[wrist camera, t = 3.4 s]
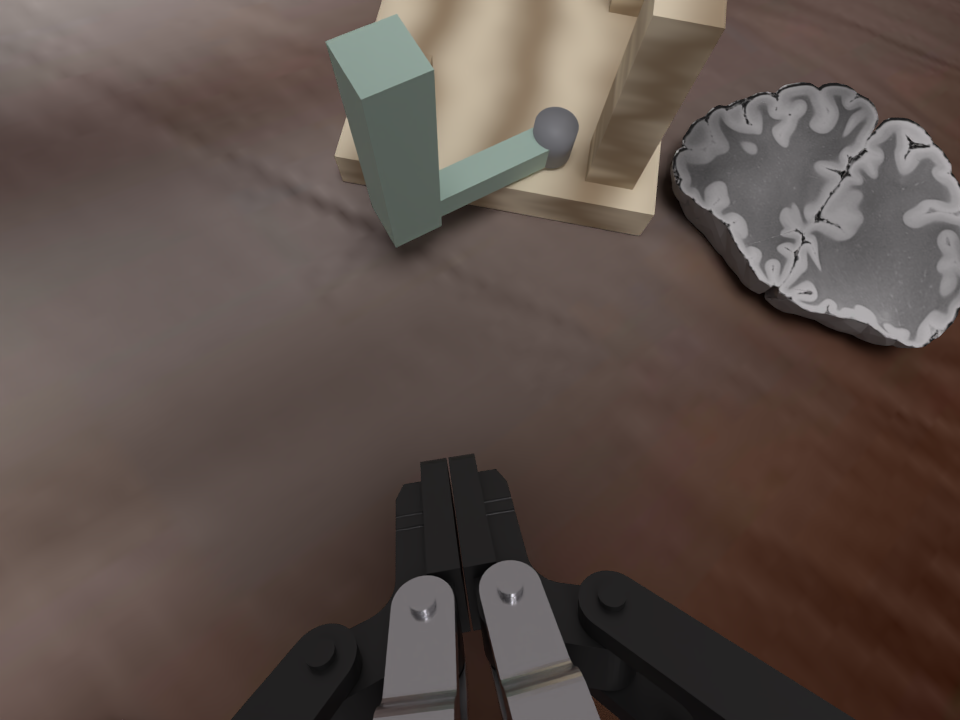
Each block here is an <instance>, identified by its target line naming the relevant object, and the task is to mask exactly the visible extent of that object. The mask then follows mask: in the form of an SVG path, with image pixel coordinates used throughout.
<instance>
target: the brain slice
mask: <svg viewBox="0 0 960 720" xmlns="http://www.w3.org/2000/svg"><path fill="white" fill-rule="evenodd" d="M877 123H878V114H877V110H876V108H875V106H874V104H873V103H872V102H871V101H870V100H869V99H868V98H866V97H864V96H862V95H860V94H858V93H857V92H856V91H855V90H854V89H852V88H851V87H849V86H847V85H844V84H839V83H828V84H824V85H822V86H821V87H819V88H818V87H816V86H814V85H813V84H811V83H805V82H800V83H793V84H788V85H784V86H783V87H781V88H780V89H779V90H778V91H777V92H776V93H770V92H761V93H756V94H754V95H752V96H750V97H748V98H745V99H742V100H737V101H735V102H733V103H731V104H730V105H728V106H721V105H718V106H716V107H714V108H713V109H711V110H710V111H709V112H708V113H707V114H706V116H705V117H702V118H700V119H698V120H696V121H695V122H693V123H692V124H691V126H690V128H689V130H688V131H687V133H686V134H685V136H684V137H683V142H682V148H680V149H679V150H677V151H676V153H675V155H674V157H673V161H672V165H671V169H670V174H671V180H672V190H673V193H674V195H675V196H676V198H677V199H678V200H679V202H680V206H681V208H682V210H683V212H684V214H685V216H686V218H687V219H688V220H689V221H690V222H692V224H693V225H694V226H695V227H696V228H697V229H698V230H699V231H701V232H702V233H703V234H704V235H705V237H706V238H707V239H708V241H709V242H710V243H711V245H712V246H713V247H714V249H715V250H716V251H717V252H718V253H719V254H720V255H721V256H722V257H723V258H724V260H725V262H726V263H727V265H728V266H729V267H730V268H731V269H732V270H733V271H734V273H735V274H736V275H737V276H738V277H739V279H740V281H741V282H742V283H743V284H744V285H745V286H746V287H747V288H749V289H750V290H752V291H754V292H756V293H758V294H761V293H764V292H765V296H764V297H765V299H766V301H768V302H769V303H770V304H771V305H772V306H773V307H775V308H777V309H779V310H781V311H783V312H785V313H791V314H796V315H799V316H802V317H806V318H809V319H814V320H816V321H817V322H819V323H821V324H823V325H825V326H827V327H828V328H831V329H834V330H836V331H839V332H844V333H848V334H852V335H854V336H855V337H857V338H859V339H861V340H864V341H866V342H869V343H872V344H877V345H883V346H890V345H893V346H895V347H899V348H918V347H923V346H926V345H927V344H929V343H930V342H931V341H932V340H934V339H936V338H938V337H939V336H940V335H941V334H942V333H943V332H944V331H945V330H946V329H947V328H948V327H949V326H950V325H951V324H952V323H953V322H954V320H955V318H956V317H957V315H958V311H959V309H960V185H959V183H958V181H957V180H956V178H955V177H954V175H953V174H952V172H951V163H950V161H949V160H948V158H947V157H946V155H945V154H944V152H943V151H942V150H941V149H940V148H939V147H938V146H937V145H936V144H934V143H933V141H932V139H931V137H930V135H929V134H928V133H927V132H926V130H924V129H923V128H922V127H921V126H920V125H919V124H917V123H916V122H914V121H912V120H910V119H906V118H889V119H887V120H884V121H883V122H882V123H881V124H880V125H879V126H878V127H877V128H876V130H875V131H874V132H873V133H871V132H872V131H873V129H874V128H875V126H876V125H877Z"/></svg>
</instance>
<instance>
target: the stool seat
mask: <svg viewBox="0 0 960 720" xmlns="http://www.w3.org/2000/svg"><path fill="white" fill-rule="evenodd" d="M726 3H727V0H382V3H381V6H380V9H379V13H378V16H377V19H376V22H377V21H380V20H382V19H385V18H387V17H390V16H393V15H395V14H397V15H398V16H399V18H400V19H401V21H402V22H403V24H404V25H405V27H406V28H407V30H408V31H409V33H410V34H411V36H412V37H413V39H414V40H415V42H416V43H417V45H418V46H419V48H420V49H421V51H422V52H423V54H424V55H425V57H426V58H427V60H428V61H429V63H430V64H431V66H432V67H433V69H434V77H435V98H436V118H437V139H438V159H439V170H441V169H443V168H445V167H448V166H450V165H452V164H454V163H456V162H459V161H461V160H463V159H465V158H467V157H470V156H472V155H474V154H476V153H478V152H480V151H483V150H485V149H487V148H489V147H491V146H494V145H496V144H498V143H500V142H502V141H505V140H507V139H509V138H511V137H513V136H516V135H518V134H520V133H522V132H524V131H527V130H529V129H531V128H533V127H534V123H535V119H536V116H537V115H538V114H539V113H540V112H541V111H542V110H544V109H546V108H549V107H561V108H564V109H567V110H568V111H570V112H571V113H572V114H574V116H575V117H576V118H577V121H578V124H579V130H578V133H577V136H576V139H575V142H574V145H573V148H572V151H571V154H570V157H569V159H568V161H567V162H566V163H565V164H564V165H563V166H561V167H558V168H552V169H550V168H543V169H541V170H539V171H537V172H534V173H532V174H530V175H528V176H526V177H524V178H522V179H520V180H518V181H516V182H513V183H511V184H509V185H507V186H505V187H503V188H501V189H499V190H497V191H494V192H492V193H490V194H488V195H486V196H484V197H482V198H480V199H478V200H475V201H473V202H471V203H469V205H475V206H480V207H486V208H491V209H496V210H502V211H507V212H513V213H518V214H523V215H529V216H534V217H540V218H545V219H551V220H556V221H561V222H567V223H572V224H578V225H583V226H588V227H594V228H599V229H605V230H610V231H616V232H621V233H626V234H632V235H637V236H640V235H641V233H642V232H643V231H644V229H645V228H646V226H647V225H648V223H649V222H650V221H651V219H652V218H653V216H654V213H655V202H656V191H657V180H658V169H659V158H660V147H661V139H662V138H663V136H664V134H665V132H666V131H667V129H668V127H669V125H670V124H671V122H672V120H673V119H674V117H675V115H676V113H677V112H678V110H679V108H680V106H681V105H682V103H683V101H684V99H685V98H686V96H687V94H688V92H689V91H690V89H691V87H692V85H693V84H694V82H695V80H696V78H697V77H698V75H699V73H700V71H701V70H702V68H703V66H704V65H705V63H706V61H707V59H708V58H709V56H710V54H711V52H712V51H713V49H714V47H715V45H716V44H717V42H718V40H719V38H720V37H721V35H722V33H723V31H724V30H725V22H726ZM334 157H335V159H336V162H337V165H338V168H339V171H340V174H341V176H342V179H343V181H345V182H350V183H356V184H361V185H366V183H365V179H364V176H363V172H362V169H361V165H360V162H359V158H358V155H357V151H356V147H355V144H354V140H353V137H352V133H351V130H350V126H349V123H348V119H347V117H346V120H345V123H344V126H343V130H342V133H341V136H340V139H339V143H338V146H337V149H336V152H335V156H334Z"/></svg>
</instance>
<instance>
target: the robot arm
mask: <svg viewBox="0 0 960 720" xmlns="http://www.w3.org/2000/svg"><path fill="white" fill-rule="evenodd" d="M449 466H450V473H451V480H452V488H453V495H454V503H455V510H456V517H455V510H454V503H453V497H452V490H451V484H450V478H449V472H448V466H447V460H446V458H443V459H437V460H430V461H424V462H420V467H421V482H415V483H409V484H404V485H403V487H402V489H401V491H400V493H399V495H398V497H397V499H396V582H395V589H394V592H393V594H392V597H391V598H390V600H389V602H388V603H387V604H386V606H385V607H384V608H383V609H382V610H381V611H380V612H379V613H377V614H376V615H375V616H373V617H372V618H370V619H368V620H366V621H364V622H362V623H360V624H358V625H357V626H355V627H353V628H351V629H348V628H347V627H345V626H343V625H340V624H325V625H322V626H319V627H316V628H314V629H312V630H311V631H309V632H308V633H307V634H305V635H304V636H303V637H302V638H301V639H300V640H299V641H298V642H297V643H296V645H295V646H294V647H293V648H292V649H291V650H290V652H289V653H288V654H287V655H286V656H285V657H284V659H283V660H282V661H281V662H280V663H279V664H278V666H277V667H276V668H275V669H274V670H273V671H272V673H271V674H270V675H269V676H268V677H267V678H266V680H265V681H264V682H263V683H262V684H261V685H260V687H259V688H258V689H257V690H256V691H255V692H254V694H253V695H252V696H251V697H250V698H249V699H248V701H247V702H246V703H245V704H244V705H243V706H242V708H241V709H240V710H239V711H238V712H237V713H236V715H235V716H234V717H233V718H232V719H231V720H469V701H468V678H467V665H466V659H465V654H464V645H463V637H462V633H464V632H469V631H471V630H470V623H469V615H468V608H467V600H466V593H465V585H464V577H463V570H462V562H463V569H464V575H465V582H466V588H467V594H468V600H469V607H470V613H471V619H472V625H473V631H475V630H480V629H481V630H482V637H483V643H484V650H485V654H486V657H487V659H488V661H489V664H490V669H491V673H492V677H493V681H494V686H495V690H496V694H497V699H498V703H499V707H500V712H501V716H502V720H600V718H599V715H598V712H597V710H596V707H595V705H594V702H593V699H592V697H591V695H592V696H593V697H594V698H595V699H596V700H598V701H599V702H600V703H601V704H602V705H604V706H605V707H606V708H607V709H608V710H610V711H611V712H612V713H613V714H614V715H616V716H617V717H618V718H619V719H620V720H855V719H854V718H852V717H850V716H849V715H847V714H846V713H844V712H842V711H841V710H839V709H838V708H836V707H834V706H833V705H831V704H830V703H828V702H826V701H825V700H823V699H822V698H820V697H818V696H817V695H815V694H814V693H812V692H811V691H809V690H807V689H806V688H804V687H803V686H801V685H799V684H798V683H796V682H795V681H793V680H791V679H790V678H788V677H787V676H785V675H783V674H782V673H780V672H779V671H777V670H775V669H774V668H772V667H771V666H769V665H767V664H766V663H764V662H763V661H761V660H759V659H758V658H756V657H755V656H753V655H752V654H750V653H748V652H747V651H745V650H744V649H742V648H740V647H739V646H737V645H736V644H734V643H732V642H731V641H729V640H728V639H726V638H724V637H723V636H721V635H720V634H718V633H716V632H715V631H713V630H712V629H710V628H708V627H707V626H705V625H704V624H702V623H700V622H699V621H697V620H696V619H694V618H693V617H691V616H689V615H688V614H686V613H685V612H683V611H681V610H680V609H678V608H677V607H675V606H673V605H672V604H670V603H669V602H667V601H665V600H664V599H662V598H661V597H659V596H657V595H656V594H654V593H653V592H651V591H649V590H648V589H646V588H645V587H643V586H641V585H640V584H638V583H637V582H635V581H634V580H632V579H630V578H629V577H627V576H625V575H623V574H621V573H618V572H614V571H600V572H596V573H593V574H591V575H590V576H588V577H587V578H586V579H585V580H584V581H583V582H582V584H581V586H580V585H573V584H565V583H558V582H554V581H551V580H548V579H546V578H544V577H543V576H541V575H540V574H539V573H538V572H536V571H535V570H534V568H533V567H532V566H531V564H530V562H529V560H528V557H527V554H526V550H525V546H524V543H523V539H522V535H521V532H520V528H519V524H518V521H517V517H516V513H515V510H514V506H513V502H512V499H511V495H510V491H509V487H508V484H507V481H506V480H505V479H504V478H503V476H502V475H501V474H500V473H499V472H498V471H497V470H496V469H493V470H487V471H481V472H478V470H477V465H476V460H475V456H474V454H468V455H462V456H455V457H449ZM456 518H457V524H456ZM457 525H458V532H459V540H460V547H461V555H462V562H461V555H460V547H459V540H458V532H457Z"/></svg>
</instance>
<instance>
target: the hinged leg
mask: <svg viewBox="0 0 960 720" xmlns="http://www.w3.org/2000/svg"><path fill="white" fill-rule="evenodd" d="M325 42H326V45H327V49H328V52H329V56H330V59H331V63H332V66H333V70H334V73H335V77H336V80H337V84H338V88H339V91H340V95H341V98H342V102H343V105H344V109H345V112H346V116H347V119H348V123H349V126H350V130H351V133H352V137H353V140H354V144H355V147H356V151H357V155H358V158H359V162H360V165H361V169H362V172H363V176H364V179H365V183H366V186H367V190H368V193H369V197H370V200H371V204H372V207H373V209H374V211H375V213H376V214H377V216H378V218H379V219H380V221H381V223H382V225H383V226H384V228H385V230H386V231H387V233H388V235H389V237H390V238H391V240H392V242H393V243H394V245H395V247H396V248H397V247H399V246H401V245H403V244H405V243H407V242H409V241H411V240H413V239H415V238H417V237H420V236H422V235H424V234H426V233H428V232H430V231H432V230H434V229H436V228H438V227H440V226H442V220H441V217H442V216H444V215H446V214H448V213H450V212H452V211H454V210H457V209H459V208H461V207H463V206H465V205H467V204H469V203H471V202H473V201H475V200H478V199H480V198H482V197H484V196H486V195H488V194H490V193H492V192H494V191H497V190H499V189H501V188H503V187H505V186H507V185H509V184H511V183H513V182H516V181H518V180H520V179H522V178H524V177H526V176H528V175H530V174H532V173H534V172H537V171H539V170H541V169H543V168H550V169H552V168H558V167H561V166H563V165H564V164H565V163H566V162H567V161H568V159H569V157H570V154H571V151H572V148H573V145H574V142H575V139H576V136H577V133H578V130H579V124H578V121H577V118H576V117H575V116H574V114H572V113H571V112H570V111H568V110H567V109H564V108H561V107H549V108H546V109H544V110H542V111H541V112H540V113H539V114H538V115H537V116H536V119H535V123H534V127H533V128H531V129H529V130H527V131H524V132H522V133H520V134H518V135H516V136H513V137H511V138H509V139H507V140H505V141H502V142H500V143H498V144H496V145H494V146H491V147H489V148H487V149H485V150H483V151H480V152H478V153H476V154H474V155H472V156H470V157H467V158H465V159H463V160H461V161H459V162H456V163H454V164H452V165H450V166H448V167H445V168H443V169H441V170H439V159H438V139H437V118H436V98H435V77H434V69H433V67H432V66H431V64H430V63H429V61H428V60H427V58H426V57H425V55H424V54H423V52H422V51H421V49H420V48H419V46H418V45H417V43H416V42H415V40H414V39H413V37H412V36H411V34H410V33H409V31H408V30H407V28H406V27H405V25H404V24H403V22H402V21H401V19H400V18H399V16H398V15H397V14H395V15H393V16H390V17H387V18H385V19H382V20H380V21H377V22H374V23H372V24H369V25H367V26H364V27H361V28H359V29H356V30H354V31H351V32H349V33H346V34H343V35H341V36H338V37H336V38H333V39H330V40H328V41H325Z"/></svg>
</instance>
